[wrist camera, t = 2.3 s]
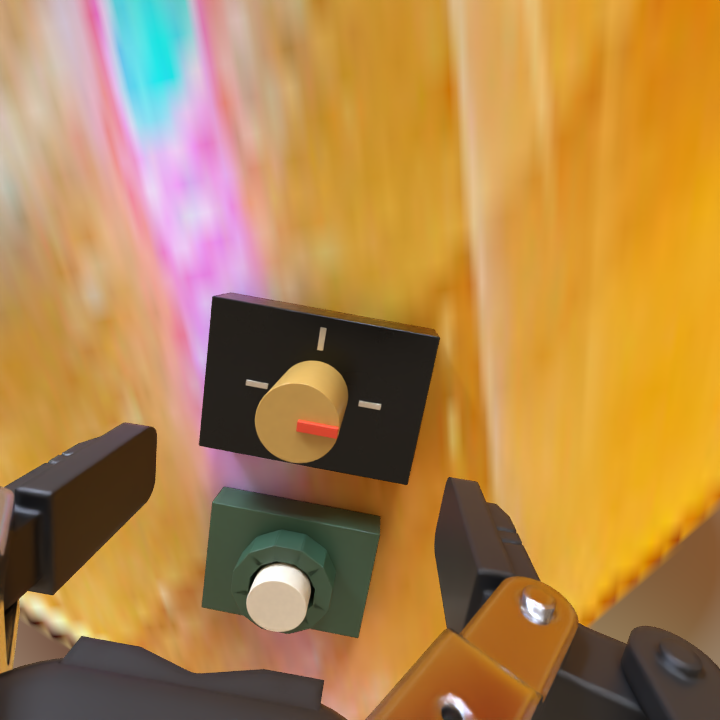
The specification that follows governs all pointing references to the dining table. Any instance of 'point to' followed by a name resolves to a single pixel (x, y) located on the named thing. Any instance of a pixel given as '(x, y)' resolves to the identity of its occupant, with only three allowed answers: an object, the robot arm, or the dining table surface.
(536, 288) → the dining table surface
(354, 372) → the panel
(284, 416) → the knob
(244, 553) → the button block
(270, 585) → the button
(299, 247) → the dining table surface
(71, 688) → the robot arm
